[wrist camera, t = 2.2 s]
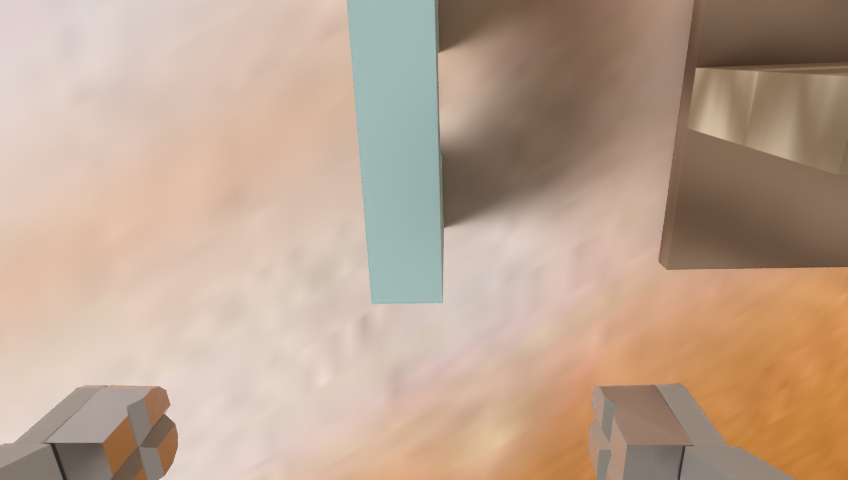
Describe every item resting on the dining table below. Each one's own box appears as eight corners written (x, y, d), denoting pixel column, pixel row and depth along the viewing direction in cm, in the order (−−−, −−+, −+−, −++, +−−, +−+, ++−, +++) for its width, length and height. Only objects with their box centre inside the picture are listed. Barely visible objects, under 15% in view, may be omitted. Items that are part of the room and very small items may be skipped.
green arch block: (377, -41, 21) (339, -94, 13) (437, -44, 21) (431, -99, 13) (394, 229, 25) (371, 303, 18) (443, 228, 25) (442, 303, 18)
